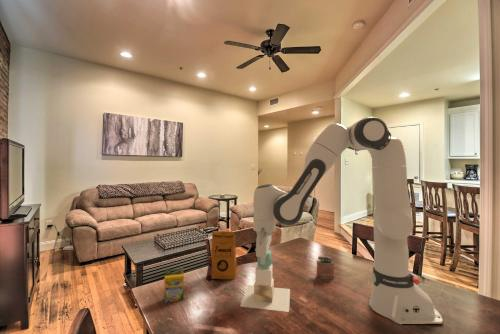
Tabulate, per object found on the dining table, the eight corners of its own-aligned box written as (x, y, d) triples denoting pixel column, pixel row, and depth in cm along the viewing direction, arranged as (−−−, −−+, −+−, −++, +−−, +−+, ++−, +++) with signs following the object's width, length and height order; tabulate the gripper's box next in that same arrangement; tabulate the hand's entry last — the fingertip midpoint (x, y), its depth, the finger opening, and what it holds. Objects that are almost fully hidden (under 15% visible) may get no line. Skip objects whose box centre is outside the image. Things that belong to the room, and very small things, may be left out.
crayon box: (164, 303, 93) (164, 273, 93) (164, 298, 96) (164, 270, 96) (183, 300, 95) (183, 271, 95) (183, 296, 98) (183, 267, 98)
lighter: (333, 276, 116) (333, 255, 116) (334, 279, 112) (335, 258, 112) (316, 275, 117) (316, 254, 116) (317, 278, 113) (317, 257, 113)
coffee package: (235, 283, 109) (235, 234, 109) (208, 281, 111) (208, 233, 110) (239, 273, 119) (239, 228, 118) (214, 271, 120) (214, 227, 120)
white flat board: (290, 291, 102) (290, 289, 102) (289, 314, 86) (289, 311, 86) (248, 287, 105) (248, 284, 105) (239, 308, 90) (239, 306, 90)
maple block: (273, 293, 99) (273, 278, 99) (272, 302, 92) (272, 287, 92) (256, 291, 100) (256, 277, 100) (254, 300, 93) (254, 285, 93)
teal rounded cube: (271, 261, 98) (271, 249, 98) (270, 267, 93) (271, 254, 92) (258, 260, 99) (258, 248, 99) (256, 266, 93) (256, 253, 93)
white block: (272, 279, 98) (272, 264, 98) (271, 286, 92) (271, 270, 92) (257, 277, 99) (258, 263, 99) (255, 284, 93) (255, 269, 93)
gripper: (269, 233, 85) (269, 272, 85) (274, 220, 105) (274, 251, 105) (251, 232, 86) (251, 270, 86) (260, 219, 106) (260, 250, 106)
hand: (264, 260), depth 96 cm, fingers closed on teal rounded cube, 5 cm apart
